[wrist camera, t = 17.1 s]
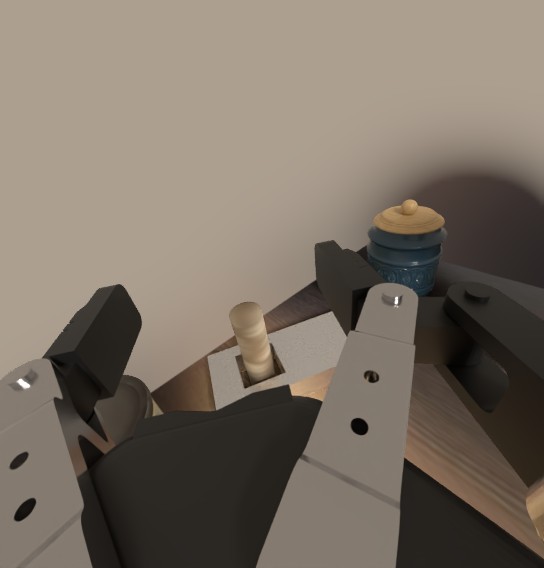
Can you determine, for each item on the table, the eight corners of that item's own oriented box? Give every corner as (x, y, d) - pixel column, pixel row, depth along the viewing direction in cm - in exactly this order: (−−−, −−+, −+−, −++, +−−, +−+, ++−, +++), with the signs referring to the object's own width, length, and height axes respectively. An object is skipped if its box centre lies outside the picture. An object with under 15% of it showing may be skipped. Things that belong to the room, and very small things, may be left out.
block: (352, 320, 47) (353, 303, 44) (391, 360, 39) (394, 342, 36) (214, 372, 42) (207, 356, 39) (225, 430, 34) (217, 414, 31)
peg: (272, 366, 41) (256, 298, 33) (280, 387, 38) (265, 316, 30) (248, 375, 40) (226, 308, 32) (255, 397, 37) (232, 328, 29)
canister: (351, 280, 57) (354, 201, 47) (396, 262, 60) (408, 185, 50) (397, 312, 47) (413, 220, 37) (448, 288, 50) (475, 198, 40)
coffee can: (90, 566, 25) (-26, 524, 17) (122, 451, 33) (55, 388, 25) (195, 535, 25) (131, 481, 18) (200, 431, 34) (159, 363, 26)
